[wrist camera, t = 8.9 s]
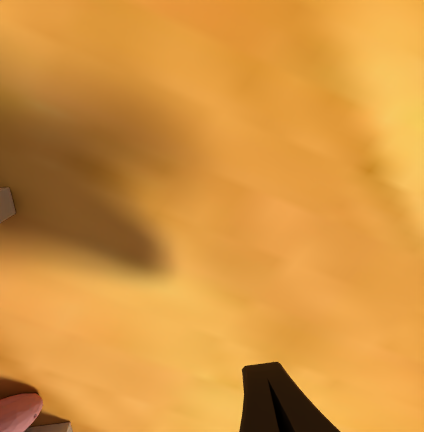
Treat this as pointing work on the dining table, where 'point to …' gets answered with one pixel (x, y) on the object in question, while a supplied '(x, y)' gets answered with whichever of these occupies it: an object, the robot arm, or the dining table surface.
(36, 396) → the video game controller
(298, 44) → the dining table surface
